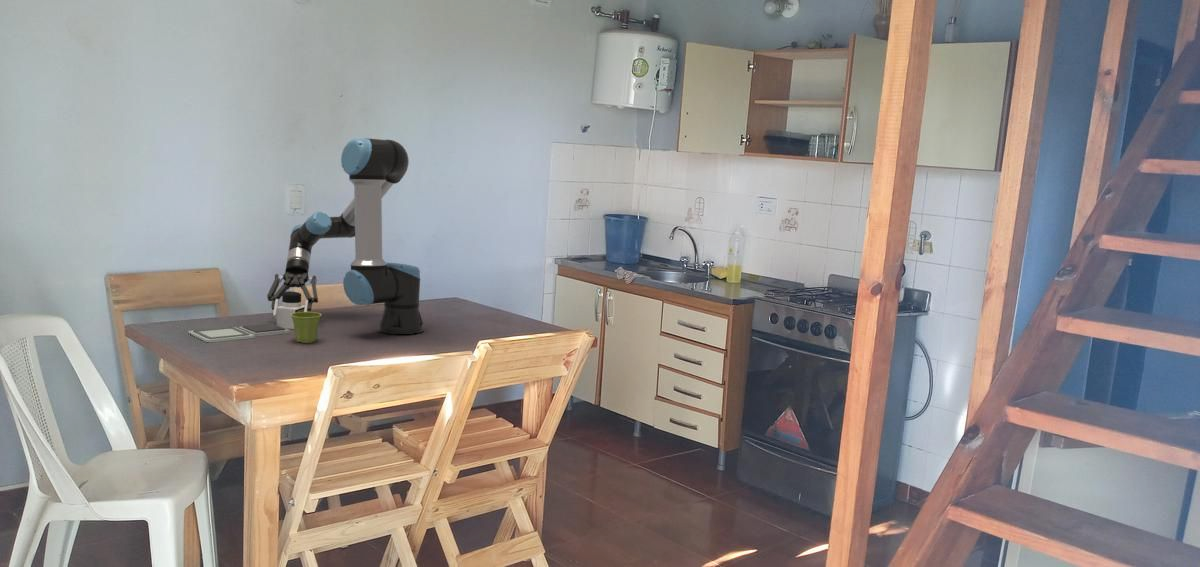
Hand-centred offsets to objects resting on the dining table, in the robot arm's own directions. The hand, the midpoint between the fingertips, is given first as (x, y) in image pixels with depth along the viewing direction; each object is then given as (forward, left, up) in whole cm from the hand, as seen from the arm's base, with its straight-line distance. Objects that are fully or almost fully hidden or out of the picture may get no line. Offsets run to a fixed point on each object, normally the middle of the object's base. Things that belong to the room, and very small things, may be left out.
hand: (289, 317), depth 309 cm
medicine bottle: (+3, -2, -4) cm, 5 cm away
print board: (0, +23, -4) cm, 23 cm away
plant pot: (-19, +4, -4) cm, 20 cm away
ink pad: (0, +9, -4) cm, 10 cm away
